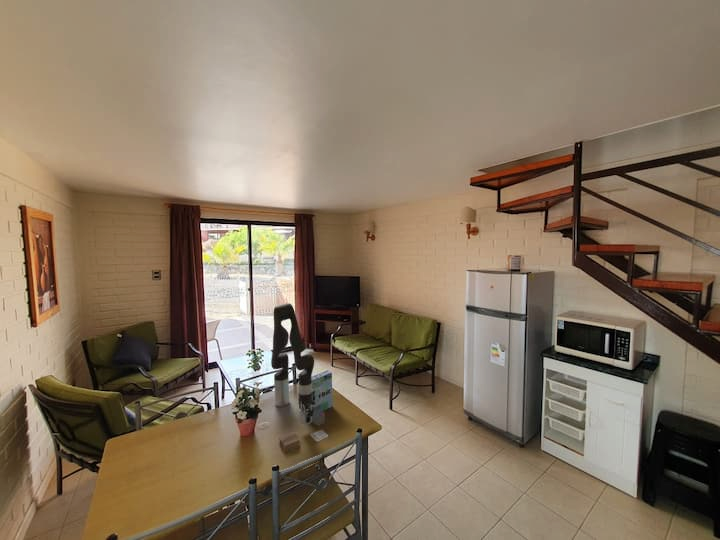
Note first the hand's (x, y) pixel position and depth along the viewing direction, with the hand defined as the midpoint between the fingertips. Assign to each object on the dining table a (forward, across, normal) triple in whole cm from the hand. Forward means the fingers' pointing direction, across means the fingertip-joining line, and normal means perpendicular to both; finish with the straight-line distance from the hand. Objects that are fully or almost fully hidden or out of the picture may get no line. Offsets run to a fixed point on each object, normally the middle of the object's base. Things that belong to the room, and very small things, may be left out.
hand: (306, 419), depth 160 cm
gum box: (+7, -13, +16) cm, 22 cm away
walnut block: (+7, +5, -12) cm, 15 cm away
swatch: (+6, +9, +3) cm, 11 cm away
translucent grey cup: (+7, -2, +10) cm, 12 cm away
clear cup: (+1, 0, 0) cm, 1 cm away
